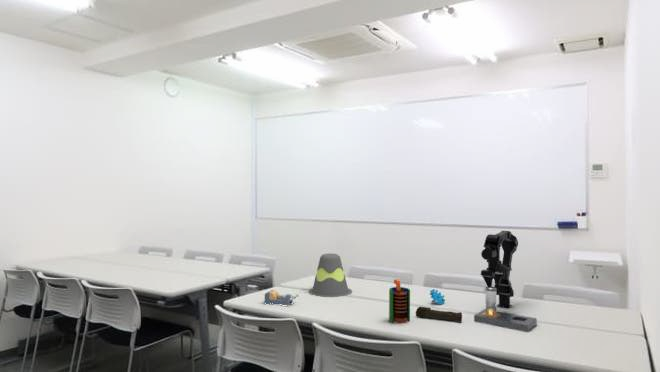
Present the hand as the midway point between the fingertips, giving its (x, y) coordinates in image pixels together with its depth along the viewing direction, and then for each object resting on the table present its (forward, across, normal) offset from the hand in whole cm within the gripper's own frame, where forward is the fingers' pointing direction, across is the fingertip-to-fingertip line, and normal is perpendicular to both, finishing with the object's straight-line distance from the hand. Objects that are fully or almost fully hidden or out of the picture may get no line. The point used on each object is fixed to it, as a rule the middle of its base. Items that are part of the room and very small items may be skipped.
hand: (493, 288), depth 226 cm
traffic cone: (+14, -24, +96) cm, 100 cm away
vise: (+16, -64, +97) cm, 117 cm away
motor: (+15, -45, +29) cm, 55 cm away
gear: (+13, -2, +31) cm, 34 cm away
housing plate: (+14, -12, -11) cm, 21 cm away
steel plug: (+10, -14, -5) cm, 18 cm away
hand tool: (+15, -30, +15) cm, 36 cm away
